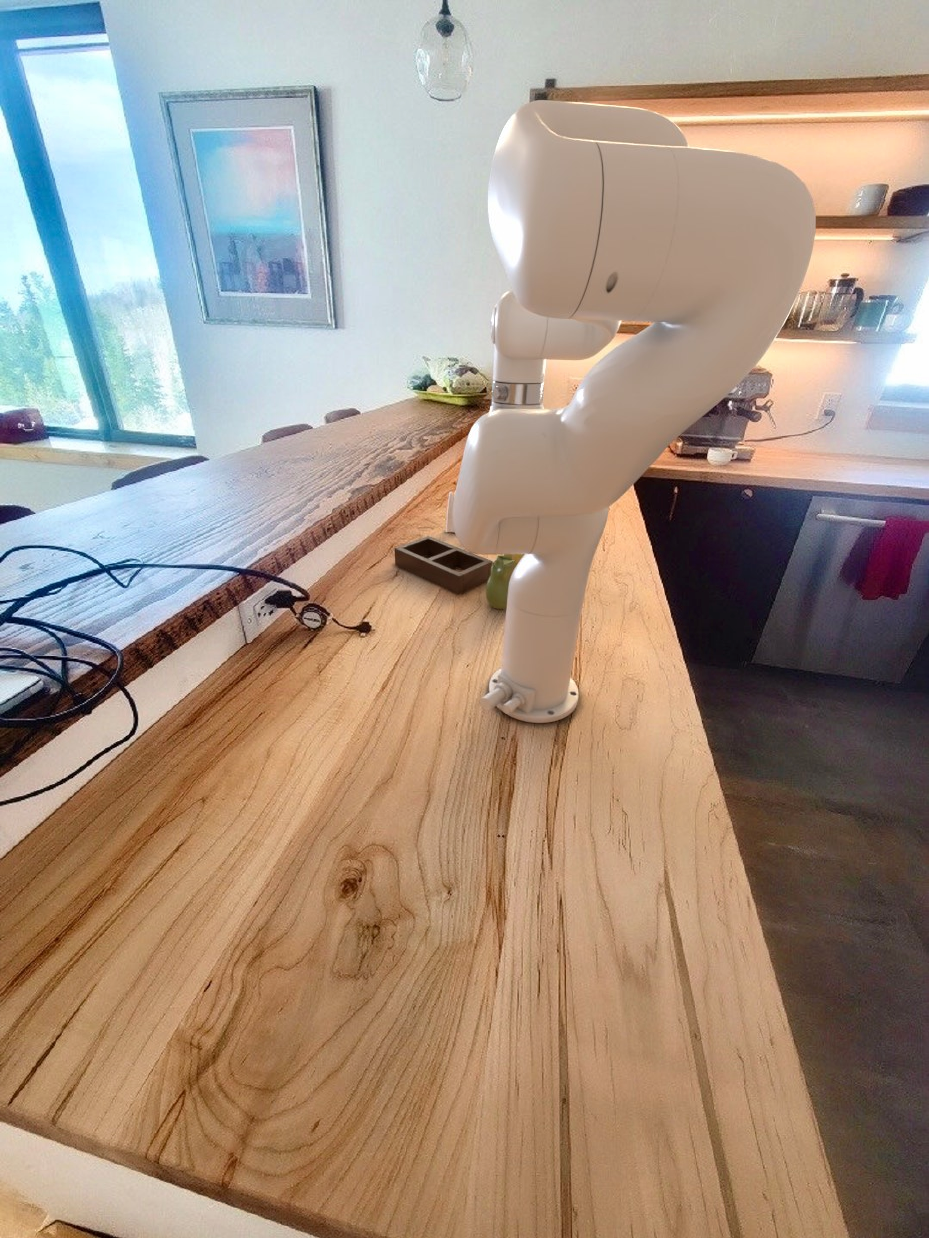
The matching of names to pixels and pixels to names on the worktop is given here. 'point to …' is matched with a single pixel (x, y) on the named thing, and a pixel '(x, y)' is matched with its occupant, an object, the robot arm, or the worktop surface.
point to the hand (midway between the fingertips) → (509, 508)
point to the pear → (499, 581)
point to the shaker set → (450, 514)
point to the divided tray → (443, 564)
